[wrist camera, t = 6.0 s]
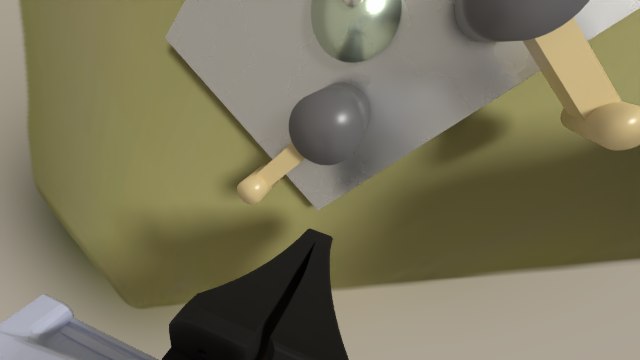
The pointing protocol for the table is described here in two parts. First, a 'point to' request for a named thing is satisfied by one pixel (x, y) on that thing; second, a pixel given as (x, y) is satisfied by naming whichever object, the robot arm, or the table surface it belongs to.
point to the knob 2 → (558, 63)
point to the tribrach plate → (354, 70)
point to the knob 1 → (314, 136)
